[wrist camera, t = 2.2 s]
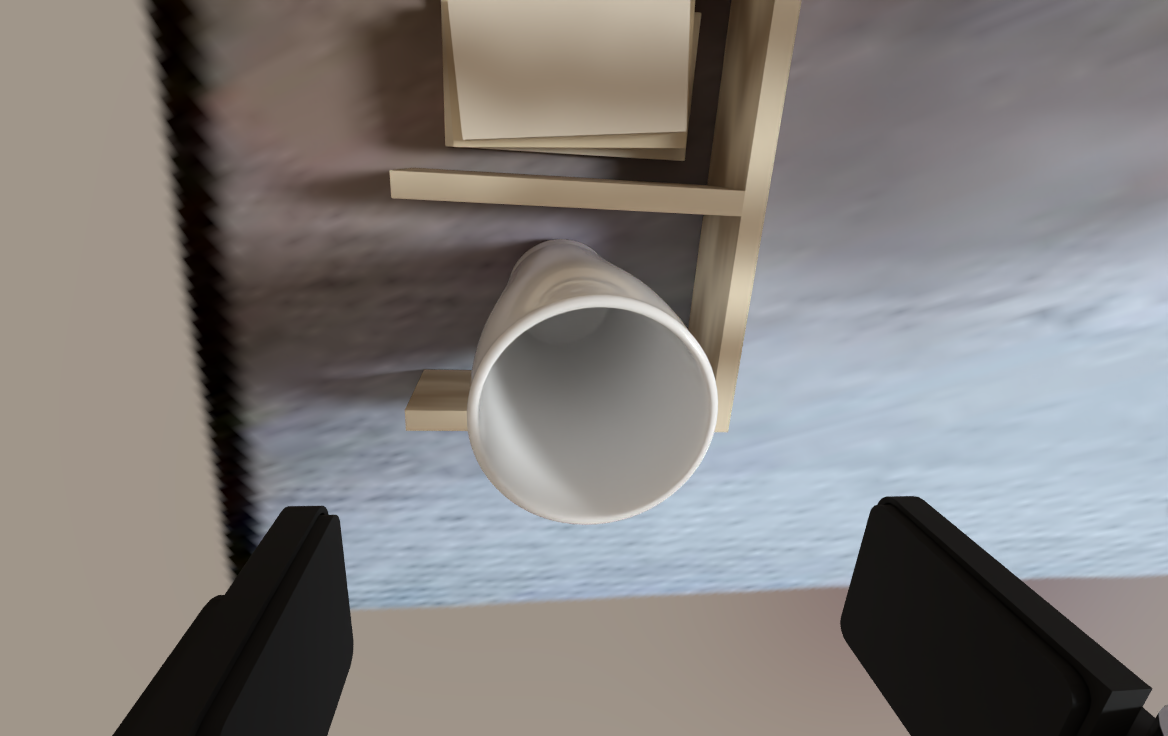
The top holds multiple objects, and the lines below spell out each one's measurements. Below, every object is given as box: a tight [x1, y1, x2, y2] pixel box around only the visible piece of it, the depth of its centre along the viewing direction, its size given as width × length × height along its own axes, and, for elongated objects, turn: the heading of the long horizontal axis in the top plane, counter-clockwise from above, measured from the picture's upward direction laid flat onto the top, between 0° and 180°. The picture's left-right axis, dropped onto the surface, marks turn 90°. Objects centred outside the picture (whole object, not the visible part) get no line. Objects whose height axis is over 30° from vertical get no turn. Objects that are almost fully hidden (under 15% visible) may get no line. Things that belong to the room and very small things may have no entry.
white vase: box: [467, 239, 718, 525], centre depth 21 cm, size 7×7×15 cm
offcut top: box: [448, 0, 690, 140], centre depth 22 cm, size 5×9×2 cm, turn 92°
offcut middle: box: [443, 0, 695, 149], centre depth 23 cm, size 6×10×2 cm, turn 90°
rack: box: [390, 0, 801, 432], centre depth 24 cm, size 20×15×5 cm
